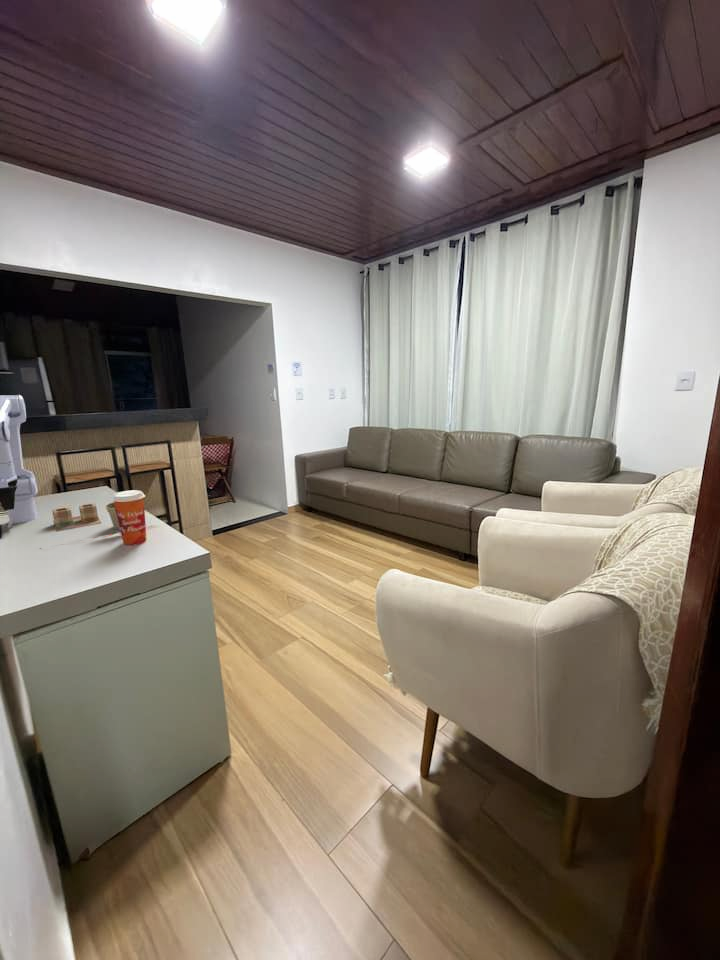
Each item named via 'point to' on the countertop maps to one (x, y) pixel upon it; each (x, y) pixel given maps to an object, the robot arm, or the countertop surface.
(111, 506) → the flower pot
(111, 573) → the countertop surface
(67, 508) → the sleeve
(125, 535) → the coffee cup
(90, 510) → the seated sleeve
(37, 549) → the countertop surface
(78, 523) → the pin board
